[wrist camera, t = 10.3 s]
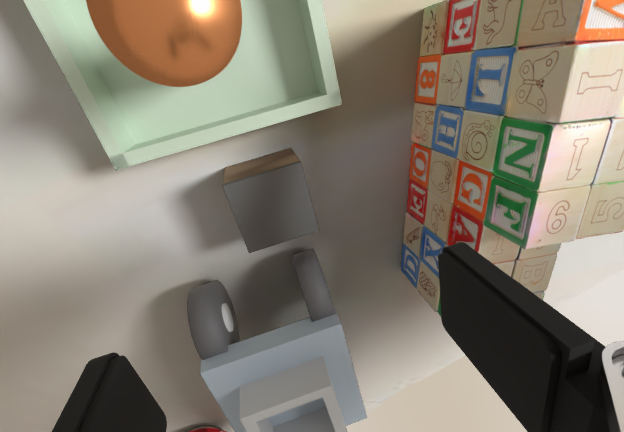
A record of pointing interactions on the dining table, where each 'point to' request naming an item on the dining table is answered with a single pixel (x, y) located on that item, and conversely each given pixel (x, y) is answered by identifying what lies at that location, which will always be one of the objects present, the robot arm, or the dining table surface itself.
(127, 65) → the stop pin
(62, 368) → the dining table surface
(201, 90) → the tray
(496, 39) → the stack of blocks
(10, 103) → the dining table surface
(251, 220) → the block
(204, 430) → the soda can
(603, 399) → the robot arm
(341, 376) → the cart
